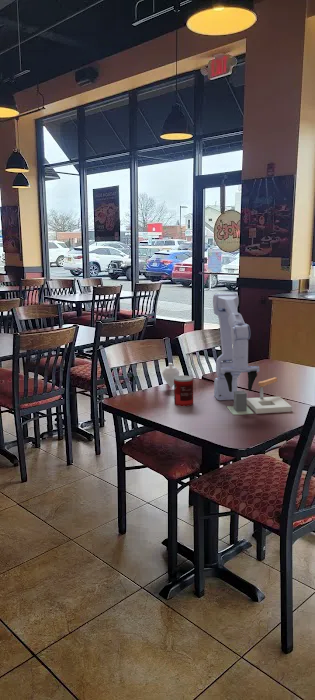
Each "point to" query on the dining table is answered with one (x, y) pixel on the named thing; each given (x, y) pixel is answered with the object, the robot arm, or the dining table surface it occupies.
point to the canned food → (183, 390)
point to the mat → (231, 409)
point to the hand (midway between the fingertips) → (240, 390)
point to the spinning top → (170, 374)
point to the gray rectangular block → (240, 401)
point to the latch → (267, 382)
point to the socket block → (268, 404)
